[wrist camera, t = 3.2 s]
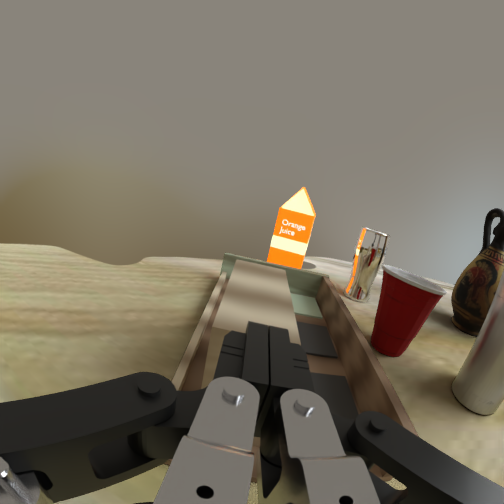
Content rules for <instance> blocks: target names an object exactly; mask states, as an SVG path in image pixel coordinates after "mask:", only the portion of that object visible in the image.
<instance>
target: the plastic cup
mask: <svg viewBox="0 0 504 504" xmlns="http://www.w3.org/2000/svg"><path fill="white" fill-rule="evenodd" d="M382 269H383V270H384V271H383V279H382V280H383V282H382V287H381V288H382V289H381V294H380V299H379V304H378V309H377V313H376V317H375V322H374V323H375V324H374V328H373V332H372V336H371V345H372V346H373V347H374V348H375V349H376V350H377V351H379V352H380V353H382V354H385V355H387V356H392V357H397V356H400V355H402V353H403V352H404V351H405V350H406V349H407V347H408V346H409V344H410V343H411V341H412V340H413V338H415V336H416V335H417V333H418V332H419V330H420V329H421V327H422V325H423V324H424V322H425V321H426V319H427V318H428V316H429V314H430V313H431V311H432V309H433V308H434V307H435V305H436V304H437V303H438V301H439V300H440V298H441V297H442V296H443V295H445V294H446V293H447V292H446V291H445V290H444V289H443V288H441V287H440V286H438V285H436V284H434V283H432V282H430V281H428V280H426V279H424V278H422V277H420V276H417V275H415V274H413V273H410V272H407V271H405V270H402V269H399V268H396V267H393V266H390V265H383V268H382Z"/></svg>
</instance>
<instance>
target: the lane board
mask: <svg viewBox="0 0 504 504" xmlns="http://www.w3.org/2000/svg"><path fill="white" fill-rule="evenodd" d="M237 259H238V260H242V261H247V262H251V263H256V264H260V265H265V266H269V267H274V268H279V269H283V270H285V271H286V276H287V280H288V285H289V289H290V293H294V294H298V295H303V296H308V297H313V298H315V300H316V302H317V305H318V307H319V310H320V312H321V315H322V317H323V318H322V319H318V318H313V317H308V316H302V315H297V314H295V318H296V321H298V322H304V323H309V324H315V325H320V326H326V327H327V330H328V332H329V335H330V338H331V340H332V343H333V345H334V348H335V351H336V353H337V356H338V358H337V359H336V358H328V357H321V356H314V355H308V354H306V355H307V359H308V363H309V370H310V372H314V373H322V374H330V375H339V376H345V377H346V380H347V383H348V385H349V388H350V391H351V394H352V397H353V399H354V402H355V405H356V408H357V411H358V414H360V413H362V412H365V411H376V412H380V413H383V414H385V415H387V416H388V417H390V418H391V419H393V420H394V421H396V422H397V423H398V424H400V425H401V426H403V427H404V428H406V429H407V430H409V431H410V432H412V433H413V434H415V435H416V436H418V434H417V432H416V430H415V428H414V426H413V424H412V422H411V420H410V418H409V416H408V415H407V413H406V411H405V409H404V407H403V405H402V403H401V401H400V399H399V397H398V396H397V394H396V392H395V390H394V388H393V386H392V385H391V383H390V381H389V379H388V377H387V375H386V374H385V372H384V370H383V368H382V367H381V365H380V363H379V361H378V359H377V358H376V356H375V354H374V352H373V351H372V349H371V347H370V346H369V344H368V342H367V340H366V339H365V337H364V335H363V334H362V332H361V330H360V329H359V327H358V325H357V323H356V322H355V320H354V319H353V317H352V315H351V314H350V312H349V310H348V309H347V307H346V305H345V304H344V302H343V300H342V299H341V297H340V296H339V294H338V292H337V291H336V289H335V288H334V286H333V284H332V283H331V281H330V280H329V276H328V275H325V274H320V273H316V272H311V271H307V270H302V269H298V268H293V267H289V266H284V265H279V264H275V263H270V262H265V261H261V260H257V259H252V258H248V257H243V256H239V255H235V254H230V253H225V254H224V259H223V263H222V268H221V274H220V278H219V280H218V282H217V284H216V286H215V288H214V290H213V293H212V295H211V297H210V299H209V301H208V303H207V305H206V307H205V310H204V312H203V314H202V316H201V318H200V320H199V322H198V325H197V327H196V329H195V331H194V333H193V335H192V338H191V340H190V342H189V344H188V346H187V348H186V351H185V353H184V355H183V357H182V359H181V362H180V364H179V366H178V368H177V370H176V373H175V375H174V377H173V379H172V383H173V384H174V386H175V388H176V390H177V391H195V390H200V389H201V387H202V381H203V375H204V370H205V364H206V358H207V352H208V347H209V341H210V335H211V330H212V325H213V323H214V320H215V317H216V314H217V312H218V309H219V306H220V303H221V301H222V298H223V295H224V292H225V290H226V287H227V284H228V282H229V279H230V276H231V273H232V271H233V268H234V265H235V263H236V260H237ZM418 437H419V436H418ZM258 448H259V447H256V446H252V451H251V452H252V453H254V464H253V471H252V477H251V482H255V483H257V471H256V453H257V451H258ZM171 462H172V459H169V460H168V461H166V462H165V463H163V464H167V465H170V464H171ZM369 471H371V472H372V473H373V474H375V475H376V476H377V477H379V478H380V479H381V480H383V481H390V480H391V479H392V478H393V477H392V476H391V475H389V474H388V473H387V472H385V471H384V470H383V469H381V468H380V467H378V466H377V465H376V464H375V465H374V466H373V467H372V468H371V469H370V470H369Z"/></svg>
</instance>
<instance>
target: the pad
mask: <svg viewBox="0 0 504 504" xmlns="http://www.w3.org/2000/svg"><path fill="white" fill-rule="evenodd" d="M290 294H291V299H292V304H293V308H294V313H295V314H297V315H302V316H308V317H313V318H318V319H322V318H323V317H322V315H321V312H320V310H319V307H318V305H317V302H316V300H315V298H313V297H308V296H303V295H298V294H294V293H290Z"/></svg>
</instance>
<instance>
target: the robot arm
mask: <svg viewBox="0 0 504 504" xmlns="http://www.w3.org/2000/svg"><path fill="white" fill-rule="evenodd" d="M452 391H453V393H454V395H455V396H456V398H457V399H458V400H459V401H460V402H461V403H462V404H463V405H464V406H465V407H467V408H468V409H470V410H472V411H474V412H476V413H479V414H483V415H490V414H493V413H494V412H495V411H496V410H497V408H498V407H499V406H500V404H501V403H502V401H503V400H504V271H503V273H502V276H501V279H500V282H499V285H498V288H497V291H496V294H495V296H494V299H493V302H492V304H491V307H490V309H489V312H488V314H487V316H486V319H485V321H484V323H483V326H482V328H481V330H480V332H479V334H478V337H477V339H476V341H475V343H474V345H473V347H472V349H471V351H470V353H469V355H468V356H467V358H466V360H465V362H464V364H463V366H462V367H461V369H460V371H459V373H458V374H457V376H456V378H455V380H454V381H453V383H452ZM254 437H260V446H259V448H258V451H257V453H256V471H257V488H258V504H504V488H503V487H502V486H500V485H498V484H496V483H494V482H492V481H491V480H489V479H487V478H485V477H483V476H482V475H480V474H478V473H476V472H475V471H473V470H471V469H469V468H468V467H466V466H464V465H463V464H461V463H459V462H458V461H456V460H454V459H453V458H451V457H449V456H448V455H446V454H445V453H443V452H441V451H440V450H438V449H437V448H435V447H433V446H432V445H430V444H429V443H427V442H426V441H424V440H423V439H421V438H420V437H418V436H416V435H415V434H413V433H412V432H410V431H409V430H407V429H406V428H404V427H403V426H401V425H400V424H398V423H397V422H396V421H394V420H393V419H391V418H390V417H388V416H387V415H385V414H383V413H380V412H376V411H365V412H362V413H360V414H359V415H358V416H357V418H356V419H355V421H354V420H350V419H347V418H343V417H340V416H337V415H334V414H332V413H330V410H329V407H328V405H327V403H326V402H325V400H324V399H323V398H322V397H320V396H319V395H317V394H316V393H315V390H314V386H313V381H312V377H311V372H310V370H309V363H308V359H307V355H306V352H305V351H304V349H303V348H302V347H301V346H300V345H299V344H296V343H291V342H290V337H289V331H288V329H285V328H280V327H275V326H270V325H269V326H268V325H265V324H261V323H256V322H252V321H248V324H247V328H246V331H245V333H242V332H237V331H233V330H232V331H230V332H229V333H228V334H226V335H225V336H224V340H223V343H222V347H221V351H220V355H219V358H218V362H217V366H216V370H215V374H214V378H213V380H212V381H211V382H210V383H209V385H208V386H207V387H205V388H203V389H200V390H195V391H177V390H176V388H175V386H174V384H173V383H172V382H171V381H170V380H169V379H167V378H166V377H164V376H162V375H159V374H156V373H151V372H139V373H135V374H131V375H127V376H124V377H120V378H117V379H113V380H109V381H105V382H101V383H98V384H94V385H90V386H85V387H81V388H77V389H73V390H68V391H64V392H59V393H54V394H49V395H44V396H39V397H34V398H28V399H22V400H16V401H10V402H3V403H0V504H53V503H55V502H59V501H63V500H67V499H71V498H74V497H78V496H81V495H84V494H88V493H91V492H94V491H97V490H100V489H103V488H106V487H108V486H111V485H114V484H117V483H119V482H122V481H124V480H127V479H129V478H132V477H134V476H137V475H139V474H141V473H144V472H146V471H148V470H151V469H153V468H155V467H157V466H159V465H161V464H163V463H165V462H166V461H168V460H169V459H172V462H171V464H170V466H169V468H168V471H167V473H166V475H165V478H164V480H163V482H162V484H161V487H160V489H159V491H158V493H157V496H156V498H155V500H154V502H144V503H135V504H247V501H248V495H249V489H250V483H251V477H252V471H253V464H254V453H252V452H251V451H252V444H253V438H254ZM375 464H376V465H377V466H378V467H380V468H381V469H383V470H384V471H385V472H387V473H388V474H389V475H391V476H392V477H394V478H395V479H397V480H398V481H399V482H401V483H402V484H404V485H405V486H406V487H407V488H406V489H405V490H396V489H394V488H393V487H391V486H390V485H388V484H387V483H385V482H384V481H383V480H381V479H380V478H379V477H377V476H376V475H375V474H373V473H372V472H371V471H369V470H370V469H371V468H372V467H373V466H374V465H375Z"/></svg>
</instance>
